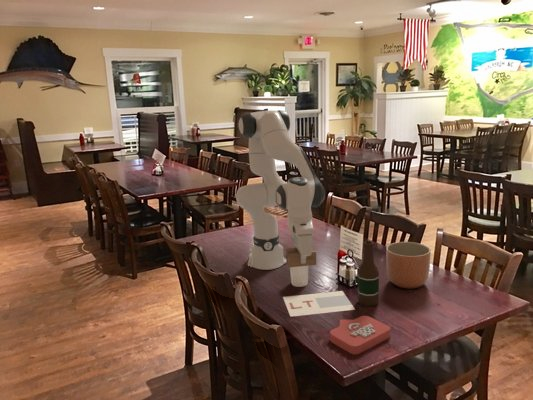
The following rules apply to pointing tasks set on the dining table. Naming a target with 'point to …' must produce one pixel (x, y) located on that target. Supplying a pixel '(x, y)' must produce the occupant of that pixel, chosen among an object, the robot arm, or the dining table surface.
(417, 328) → the dining table surface
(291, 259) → the walnut bar
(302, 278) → the white cup
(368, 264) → the beer bottle
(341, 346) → the plaque
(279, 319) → the dining table surface
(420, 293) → the dining table surface
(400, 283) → the planter
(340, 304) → the board
